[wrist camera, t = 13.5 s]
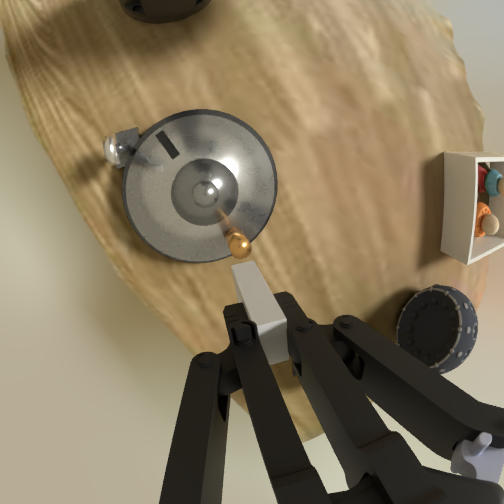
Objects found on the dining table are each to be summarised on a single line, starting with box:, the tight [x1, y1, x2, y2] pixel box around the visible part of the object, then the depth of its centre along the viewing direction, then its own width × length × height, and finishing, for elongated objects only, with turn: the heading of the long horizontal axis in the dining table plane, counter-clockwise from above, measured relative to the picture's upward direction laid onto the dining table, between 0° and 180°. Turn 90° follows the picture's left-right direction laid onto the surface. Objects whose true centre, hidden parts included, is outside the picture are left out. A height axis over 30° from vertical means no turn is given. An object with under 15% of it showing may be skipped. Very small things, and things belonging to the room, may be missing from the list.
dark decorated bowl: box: [396, 284, 478, 375], centre depth 50 cm, size 11×20×20 cm, turn 158°
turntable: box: [126, 115, 275, 262], centre depth 34 cm, size 20×20×6 cm
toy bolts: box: [474, 165, 504, 237], centre depth 48 cm, size 18×17×12 cm
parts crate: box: [440, 152, 504, 265], centre depth 49 cm, size 23×24×9 cm
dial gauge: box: [103, 127, 140, 169], centre depth 32 cm, size 5×4×8 cm
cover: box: [171, 158, 239, 226], centre depth 33 cm, size 8×8×6 cm
